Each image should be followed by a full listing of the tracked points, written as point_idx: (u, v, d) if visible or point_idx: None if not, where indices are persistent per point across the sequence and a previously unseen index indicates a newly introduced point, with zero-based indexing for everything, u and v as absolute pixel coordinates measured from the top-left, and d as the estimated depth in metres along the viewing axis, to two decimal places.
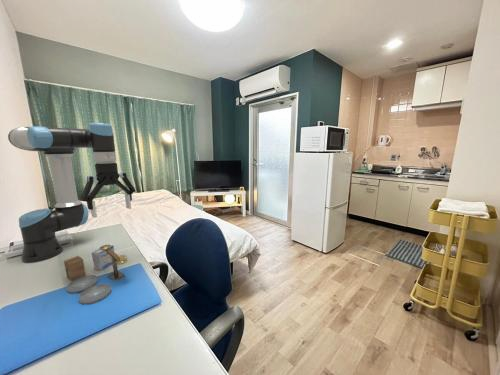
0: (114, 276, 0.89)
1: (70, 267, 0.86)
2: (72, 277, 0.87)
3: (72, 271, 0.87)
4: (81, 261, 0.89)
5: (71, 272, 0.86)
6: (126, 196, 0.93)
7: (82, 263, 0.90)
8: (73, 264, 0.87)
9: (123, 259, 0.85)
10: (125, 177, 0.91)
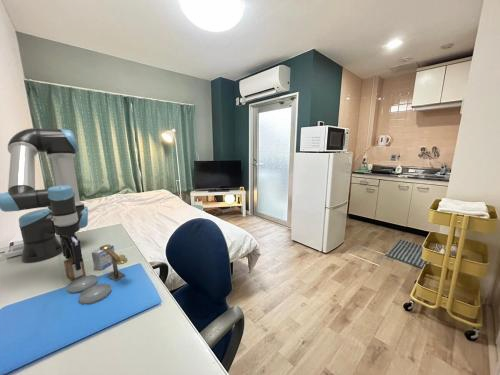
0: (114, 276, 0.89)
1: (70, 267, 0.86)
2: (72, 277, 0.87)
3: (72, 271, 0.87)
4: None
5: (71, 272, 0.86)
6: None
7: (82, 263, 0.90)
8: None
9: (123, 259, 0.85)
10: (72, 246, 0.83)
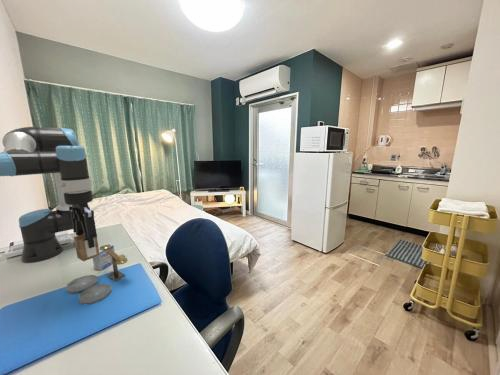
0: (114, 276, 0.89)
1: (82, 244, 0.72)
2: (84, 256, 0.73)
3: (84, 249, 0.73)
4: (94, 238, 0.75)
5: (83, 250, 0.72)
6: None
7: (95, 240, 0.75)
8: None
9: (123, 259, 0.85)
10: (84, 217, 0.69)
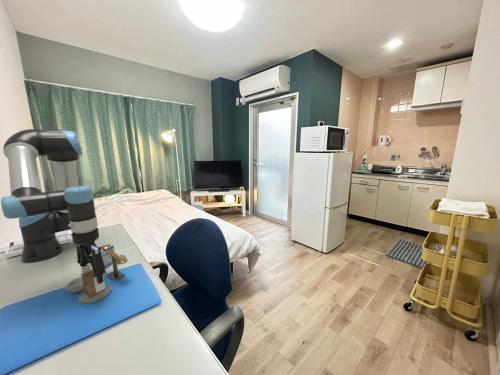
0: (114, 276, 0.89)
1: (89, 281, 0.75)
2: (91, 293, 0.76)
3: (91, 286, 0.75)
4: None
5: (90, 287, 0.75)
6: None
7: None
8: (92, 278, 0.75)
9: (123, 259, 0.85)
10: (92, 255, 0.71)
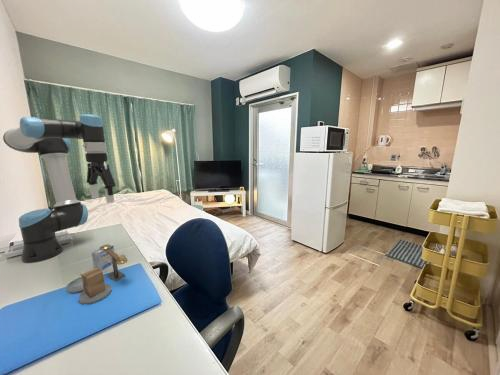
0: (114, 276, 0.89)
1: (89, 281, 0.75)
2: (91, 293, 0.76)
3: (91, 286, 0.75)
4: (101, 274, 0.78)
5: (90, 287, 0.75)
6: None
7: (102, 276, 0.78)
8: (92, 278, 0.75)
9: (123, 259, 0.85)
10: (102, 169, 0.86)
